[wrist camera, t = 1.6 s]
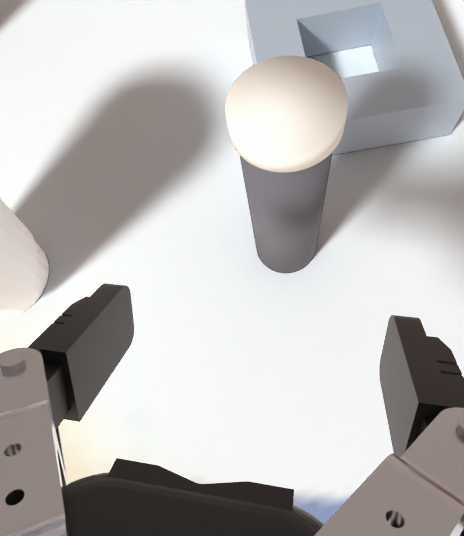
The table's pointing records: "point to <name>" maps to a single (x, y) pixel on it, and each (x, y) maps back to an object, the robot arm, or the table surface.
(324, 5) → the socket
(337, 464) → the table surface
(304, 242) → the plug
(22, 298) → the cup
